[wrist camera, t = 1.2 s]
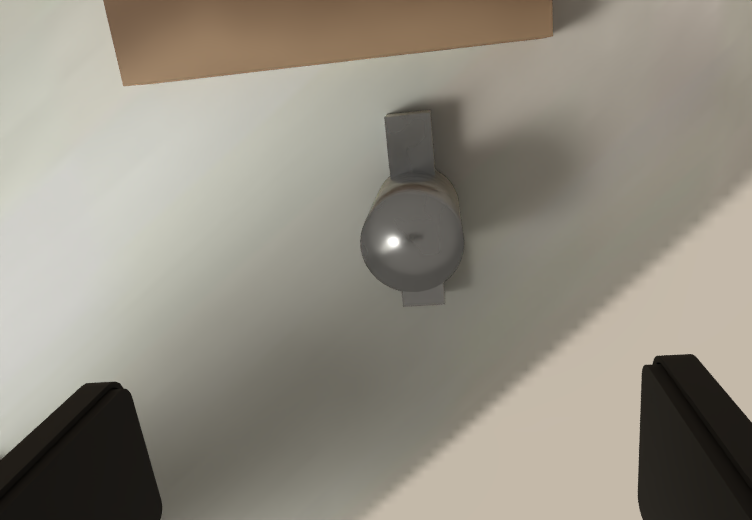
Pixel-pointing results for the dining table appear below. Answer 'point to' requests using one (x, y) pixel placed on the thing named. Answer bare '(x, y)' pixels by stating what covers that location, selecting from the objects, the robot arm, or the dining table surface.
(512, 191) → the dining table surface
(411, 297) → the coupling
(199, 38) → the socket plate
